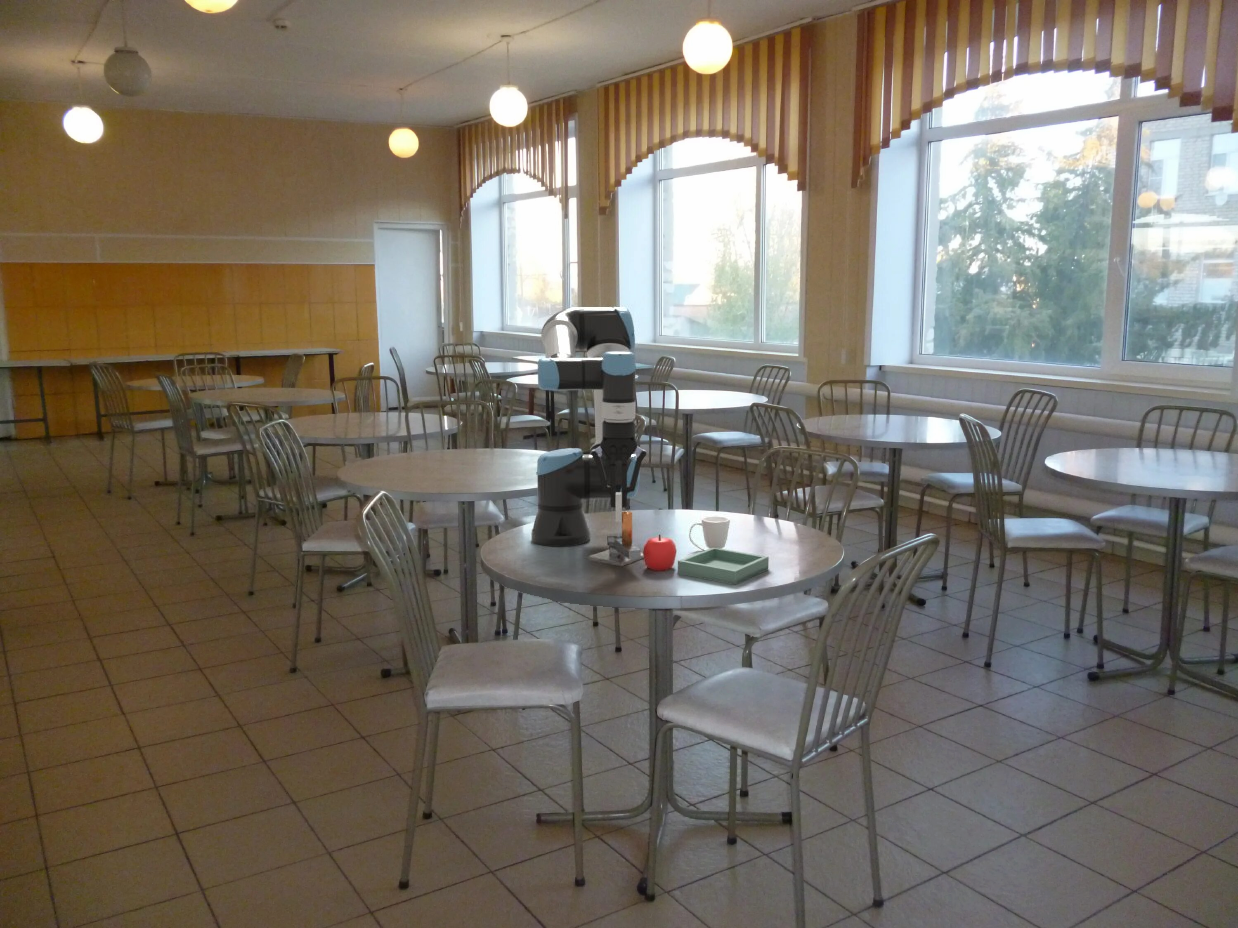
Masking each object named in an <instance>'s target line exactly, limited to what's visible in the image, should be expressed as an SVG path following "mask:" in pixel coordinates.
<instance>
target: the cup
mask: <svg viewBox="0 0 1238 928" xmlns="http://www.w3.org/2000/svg"><path fill="white" fill-rule="evenodd" d="M700 521H701V522H694V523H693V524H692V525H691V526H690V528H689V534H688V535H689V536H688V538H689V541H690V542H691V544H693V545H694V546H695V547H696V548H698V549H699V550H701V551H704V550H707V549H710V548H712V547H714V548H720V549H724V548H725V547H726V545H727V541H728V536H729V535H728V533H729V529H730V524H731V519H730V518H729V517H727V516H721V515H720V516H719V515H712V516H711V515H709V516H705V517H703V518H701V520H700ZM696 525H698V526H702V533H703V538H704V539H703V540H704V542H705V547H707V548H703V547H701V546H700V545H698V544H697V543H695V542H694V541H693V540H692V537H691V534H692V533H691V532H692V529H693V528H694V527H695V526H696Z"/></svg>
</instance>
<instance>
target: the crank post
mask: <svg viewBox="0 0 1238 928" xmlns="http://www.w3.org/2000/svg"><path fill="white" fill-rule="evenodd" d="M608 547H609V548H608V549H606V550H604V551H601V552H597V553H595V554H594V553H593V554H591V555H589V556H588V557H587V558H588V560H589V561H594V562H598V563H604V564H609V565H614V566H618V567H623V566H626V565H630V564H632V563H635V562H637V561H639V560H644V556H643V552H641V558H639V559H628V558H627V557H626V556H624V555H623V554H622V553H621V552H620V551H619V550H618V549H616V548H615V547H612V546H608Z"/></svg>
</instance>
